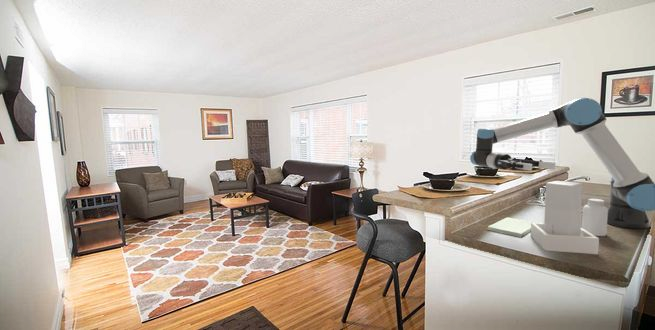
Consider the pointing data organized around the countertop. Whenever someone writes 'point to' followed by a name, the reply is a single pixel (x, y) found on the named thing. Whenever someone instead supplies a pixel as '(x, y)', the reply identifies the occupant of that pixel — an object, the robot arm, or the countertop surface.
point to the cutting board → (512, 226)
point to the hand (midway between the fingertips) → (543, 166)
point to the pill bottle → (595, 217)
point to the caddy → (565, 241)
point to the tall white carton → (563, 208)
